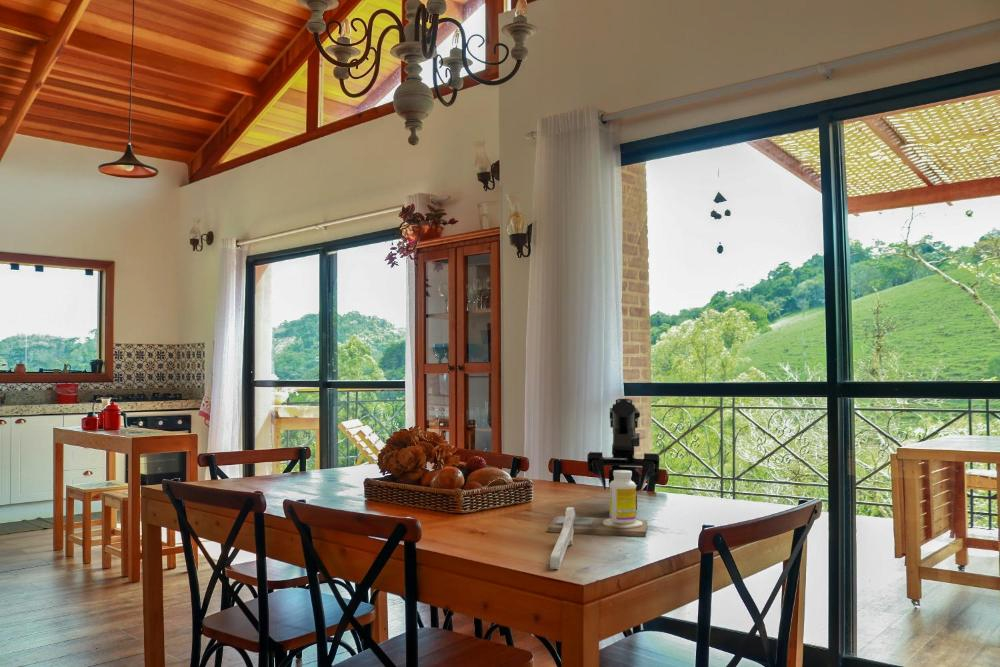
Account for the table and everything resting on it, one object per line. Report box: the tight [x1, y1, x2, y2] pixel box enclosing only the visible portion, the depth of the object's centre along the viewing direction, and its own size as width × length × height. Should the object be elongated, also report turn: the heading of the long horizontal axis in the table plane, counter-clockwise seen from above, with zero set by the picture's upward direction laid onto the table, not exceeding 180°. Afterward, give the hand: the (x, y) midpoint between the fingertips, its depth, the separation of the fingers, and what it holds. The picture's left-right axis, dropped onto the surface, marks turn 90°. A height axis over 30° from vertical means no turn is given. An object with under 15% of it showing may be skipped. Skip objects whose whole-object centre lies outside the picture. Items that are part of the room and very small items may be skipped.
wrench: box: [549, 506, 576, 570], centre depth 184 cm, size 8×2×30 cm
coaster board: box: [547, 515, 648, 537], centre depth 212 cm, size 24×15×2 cm, turn 79°
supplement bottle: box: [608, 470, 637, 524], centre depth 211 cm, size 7×7×13 cm
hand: (622, 489), depth 214 cm, fingers open, 9 cm apart
